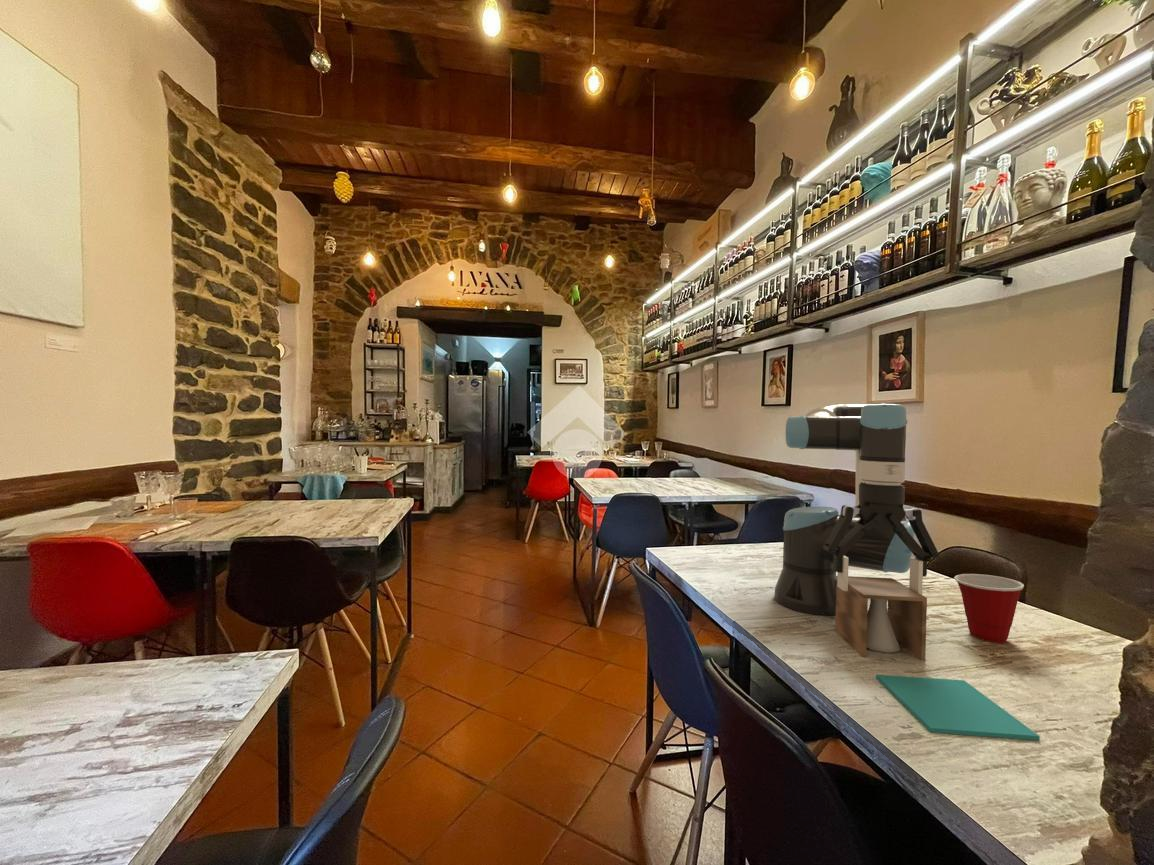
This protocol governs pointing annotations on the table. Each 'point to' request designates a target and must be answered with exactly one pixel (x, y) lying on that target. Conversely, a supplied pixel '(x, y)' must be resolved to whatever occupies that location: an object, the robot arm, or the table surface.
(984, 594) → the plastic cup
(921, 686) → the mat
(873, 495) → the robot arm
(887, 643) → the flask
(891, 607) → the brown wooden box frame
